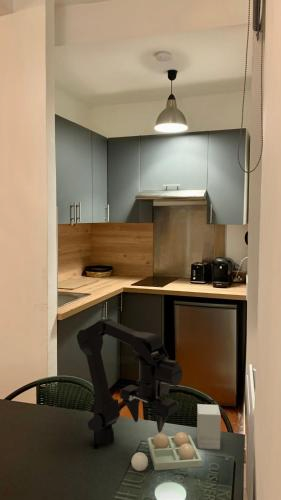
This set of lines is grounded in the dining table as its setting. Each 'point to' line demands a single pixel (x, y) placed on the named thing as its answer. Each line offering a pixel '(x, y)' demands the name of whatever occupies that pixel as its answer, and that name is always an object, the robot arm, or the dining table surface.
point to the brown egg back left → (160, 441)
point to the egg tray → (172, 456)
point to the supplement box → (208, 426)
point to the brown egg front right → (186, 452)
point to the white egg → (139, 461)
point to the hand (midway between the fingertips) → (147, 426)
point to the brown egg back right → (181, 439)
